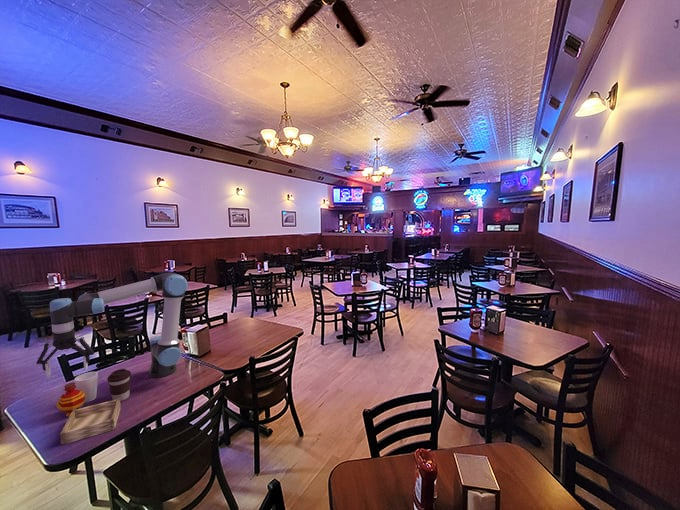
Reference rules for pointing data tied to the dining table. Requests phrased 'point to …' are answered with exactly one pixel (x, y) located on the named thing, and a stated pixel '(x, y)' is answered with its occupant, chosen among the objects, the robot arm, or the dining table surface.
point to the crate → (91, 421)
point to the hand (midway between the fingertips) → (67, 372)
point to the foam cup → (87, 385)
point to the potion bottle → (71, 399)
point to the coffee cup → (119, 384)
